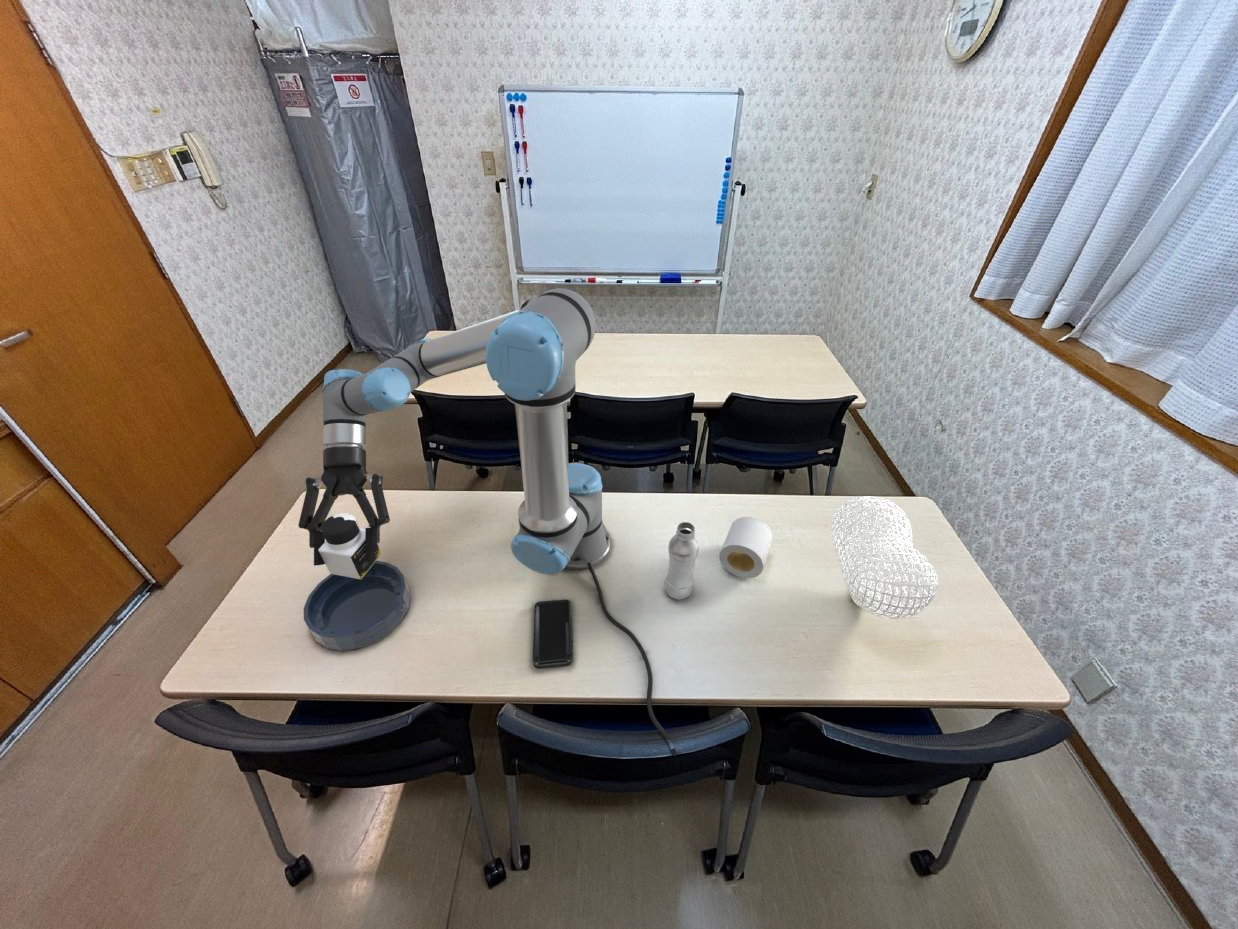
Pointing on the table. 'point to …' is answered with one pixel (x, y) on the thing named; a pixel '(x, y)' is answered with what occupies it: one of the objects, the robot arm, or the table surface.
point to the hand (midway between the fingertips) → (345, 563)
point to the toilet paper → (746, 547)
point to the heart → (882, 559)
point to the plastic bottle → (681, 562)
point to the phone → (552, 634)
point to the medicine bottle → (345, 547)
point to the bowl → (357, 607)
